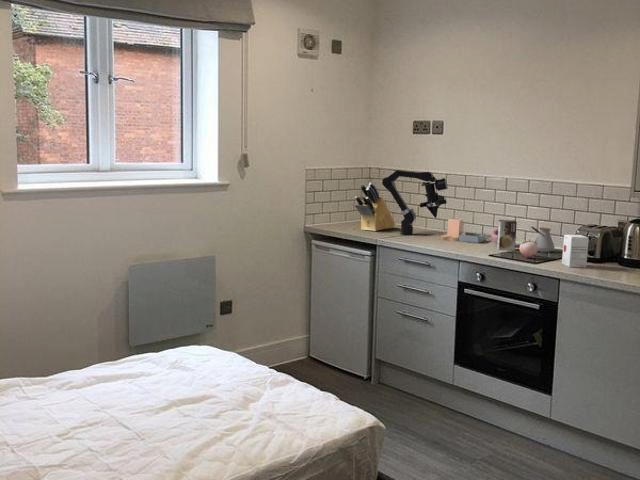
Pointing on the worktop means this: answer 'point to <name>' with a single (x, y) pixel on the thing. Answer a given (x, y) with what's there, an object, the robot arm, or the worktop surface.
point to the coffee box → (506, 235)
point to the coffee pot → (544, 240)
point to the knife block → (373, 210)
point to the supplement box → (575, 250)
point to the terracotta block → (454, 227)
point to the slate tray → (472, 237)
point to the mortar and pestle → (495, 235)
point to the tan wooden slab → (448, 238)
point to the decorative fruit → (528, 248)
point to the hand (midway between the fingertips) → (435, 217)
